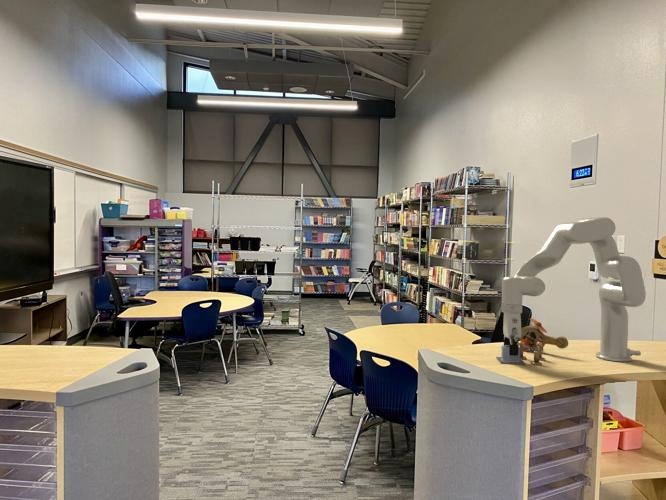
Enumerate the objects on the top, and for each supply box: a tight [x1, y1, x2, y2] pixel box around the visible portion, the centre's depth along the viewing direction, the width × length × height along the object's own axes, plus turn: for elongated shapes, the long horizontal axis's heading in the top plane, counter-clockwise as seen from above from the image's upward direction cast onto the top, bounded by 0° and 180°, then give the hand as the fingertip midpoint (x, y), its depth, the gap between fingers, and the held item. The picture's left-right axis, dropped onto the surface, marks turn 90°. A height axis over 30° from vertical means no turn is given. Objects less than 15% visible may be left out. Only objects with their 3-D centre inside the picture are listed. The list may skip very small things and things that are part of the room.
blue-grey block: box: [500, 344, 520, 362], centre depth 182 cm, size 6×6×5 cm
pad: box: [495, 356, 527, 366], centre depth 182 cm, size 9×9×1 cm
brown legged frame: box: [518, 340, 545, 366], centre depth 184 cm, size 11×13×7 cm
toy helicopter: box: [519, 318, 569, 353], centre depth 200 cm, size 8×21×14 cm, turn 38°
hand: (510, 352), depth 182 cm, fingers open, 9 cm apart
